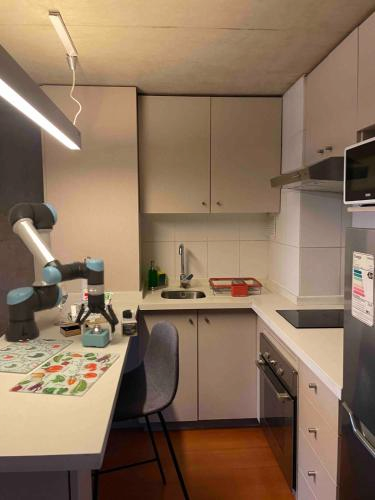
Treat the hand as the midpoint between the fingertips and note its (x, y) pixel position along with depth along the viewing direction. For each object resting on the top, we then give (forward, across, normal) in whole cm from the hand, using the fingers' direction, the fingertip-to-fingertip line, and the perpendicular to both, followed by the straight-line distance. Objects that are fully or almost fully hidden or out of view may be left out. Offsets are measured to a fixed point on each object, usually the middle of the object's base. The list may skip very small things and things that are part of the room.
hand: (97, 338), depth 170 cm
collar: (+2, 0, 0) cm, 2 cm away
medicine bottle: (+2, +10, +15) cm, 18 cm away
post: (+2, 0, 0) cm, 2 cm away
